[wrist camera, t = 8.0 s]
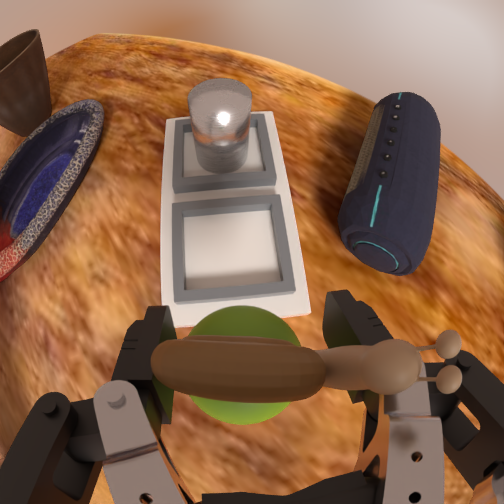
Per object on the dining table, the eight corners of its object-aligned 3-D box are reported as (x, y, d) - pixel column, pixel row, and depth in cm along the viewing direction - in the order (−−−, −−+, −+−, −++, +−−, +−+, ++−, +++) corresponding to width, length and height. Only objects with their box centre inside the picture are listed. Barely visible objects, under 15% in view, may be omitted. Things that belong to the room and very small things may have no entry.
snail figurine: (308, 410, 14) (455, 489, 3) (189, 409, 14) (88, 513, 3) (308, 315, 16) (448, 219, 5) (192, 312, 16) (103, 199, 4)
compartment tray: (166, 328, 27) (159, 325, 25) (168, 126, 36) (164, 111, 33) (307, 314, 29) (315, 310, 26) (271, 119, 37) (273, 103, 34)
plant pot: (85, 91, 39) (56, 21, 24) (37, 158, 34) (-13, 88, 19) (35, 94, 40) (6, 38, 25) (-7, 152, 35) (-50, 98, 20)
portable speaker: (366, 117, 39) (389, 69, 30) (421, 147, 38) (452, 105, 29) (315, 256, 31) (346, 214, 22) (392, 294, 30) (446, 268, 21)
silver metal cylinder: (196, 176, 32) (186, 119, 23) (196, 137, 34) (188, 81, 25) (250, 172, 32) (255, 114, 24) (245, 133, 34) (248, 76, 26)
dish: (139, 128, 36) (130, 103, 32) (15, 322, 26) (-10, 315, 22) (74, 109, 38) (64, 88, 33) (-32, 265, 28) (-52, 254, 23)
